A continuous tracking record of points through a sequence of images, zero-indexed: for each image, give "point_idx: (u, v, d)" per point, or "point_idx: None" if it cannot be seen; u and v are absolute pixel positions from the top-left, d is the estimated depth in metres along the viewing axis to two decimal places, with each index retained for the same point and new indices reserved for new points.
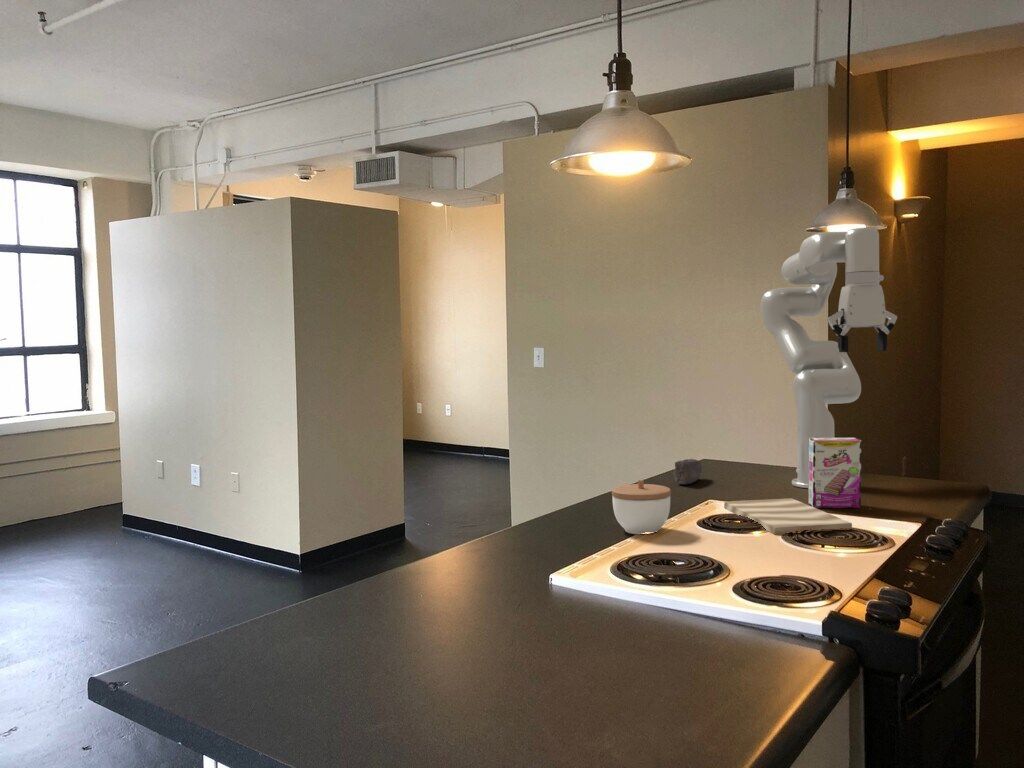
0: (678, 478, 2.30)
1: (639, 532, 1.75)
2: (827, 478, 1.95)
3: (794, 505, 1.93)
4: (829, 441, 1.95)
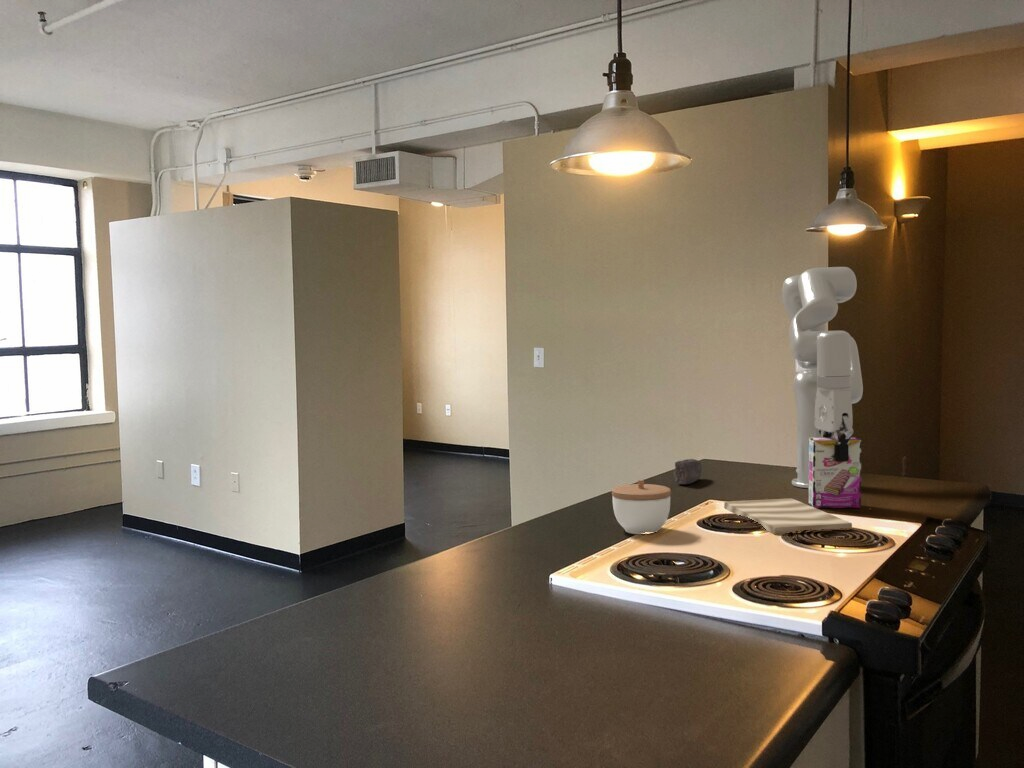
0: (678, 478, 2.30)
1: (639, 532, 1.75)
2: (827, 477, 1.95)
3: (794, 505, 1.93)
4: (829, 441, 1.95)
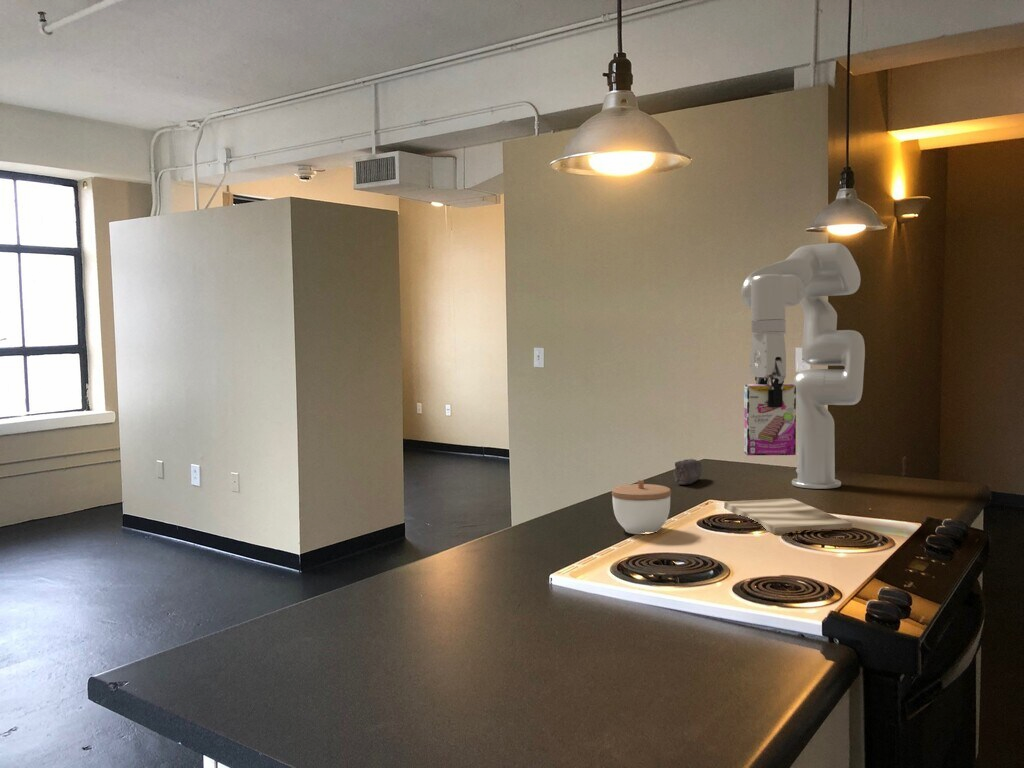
0: (678, 478, 2.30)
1: (639, 532, 1.75)
2: (761, 424, 1.90)
3: (794, 505, 1.93)
4: (763, 386, 1.90)
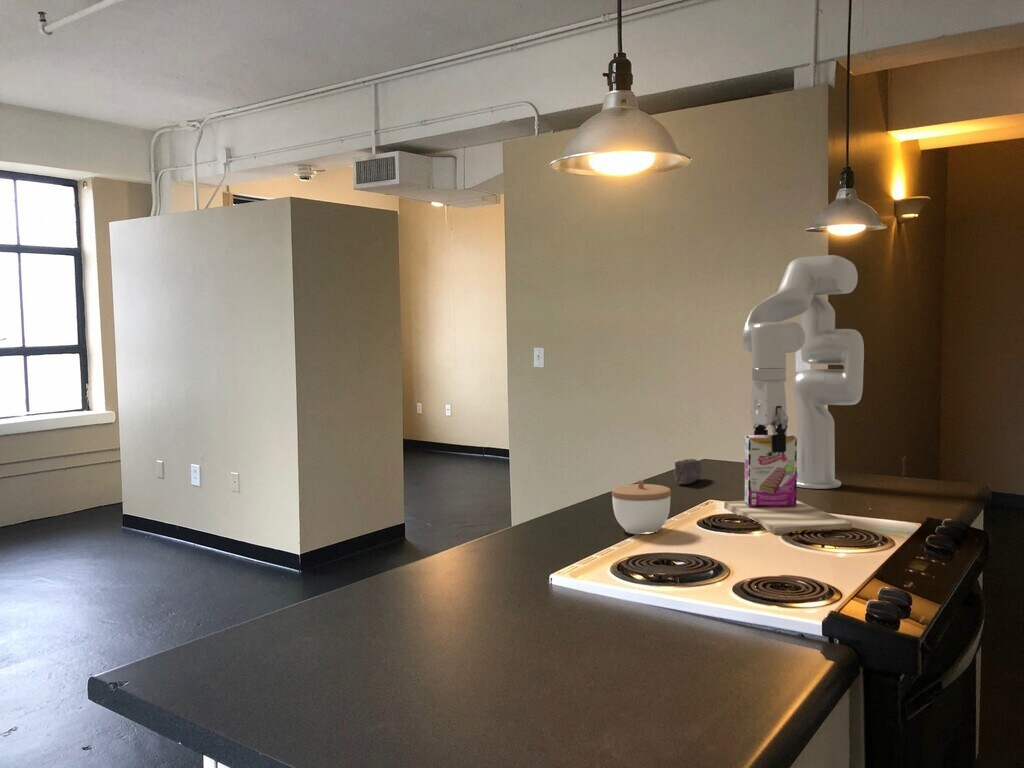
0: (678, 478, 2.30)
1: (639, 532, 1.75)
2: (762, 476, 1.91)
3: None
4: (764, 438, 1.91)
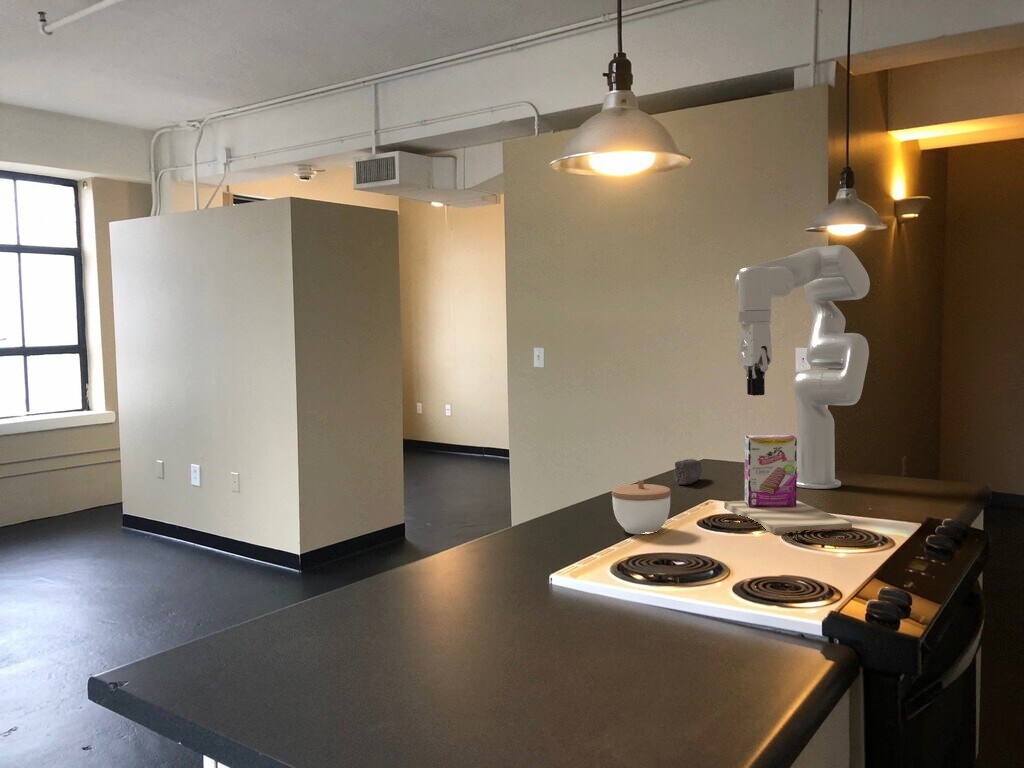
0: (678, 478, 2.30)
1: (639, 532, 1.75)
2: (762, 476, 1.91)
3: None
4: (764, 438, 1.91)
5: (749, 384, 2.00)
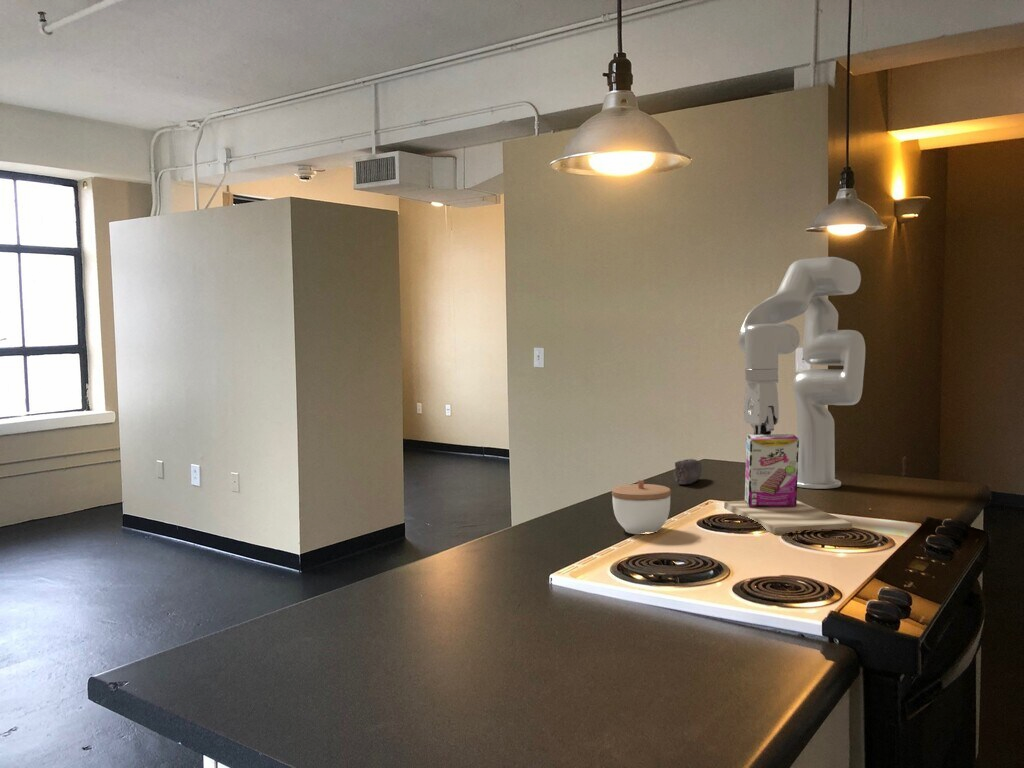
0: (678, 478, 2.30)
1: (639, 532, 1.75)
2: (763, 477, 1.90)
3: None
4: (766, 440, 1.89)
5: None
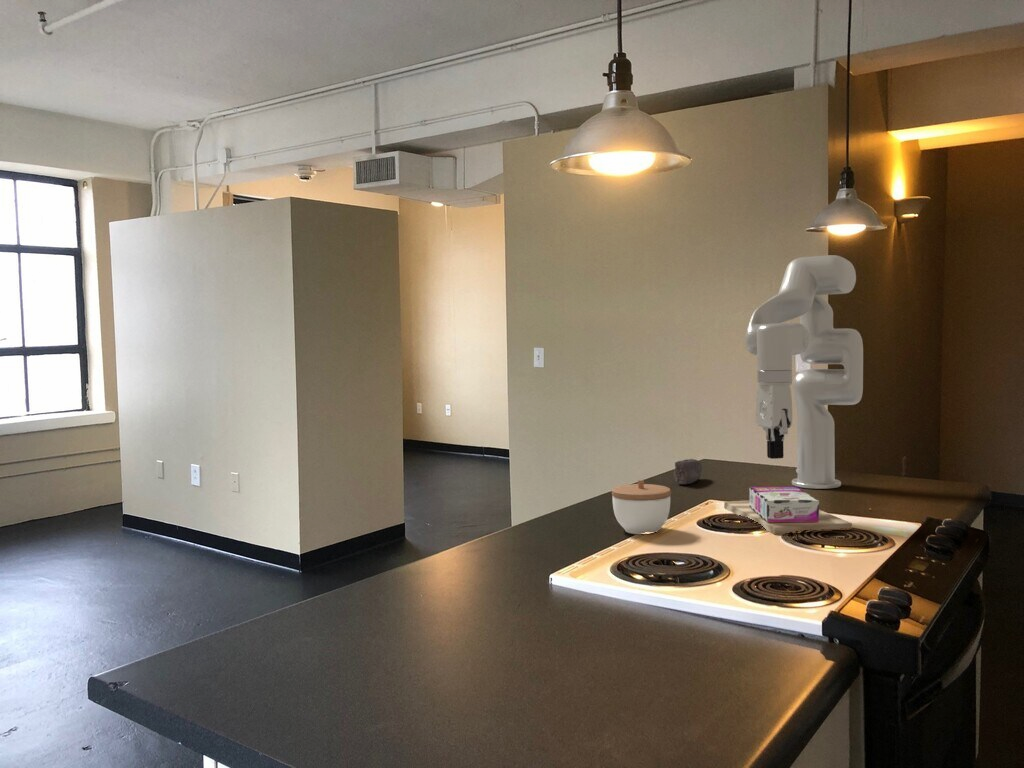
0: (678, 478, 2.30)
1: (639, 532, 1.75)
2: None
3: None
4: (783, 521, 1.76)
5: None
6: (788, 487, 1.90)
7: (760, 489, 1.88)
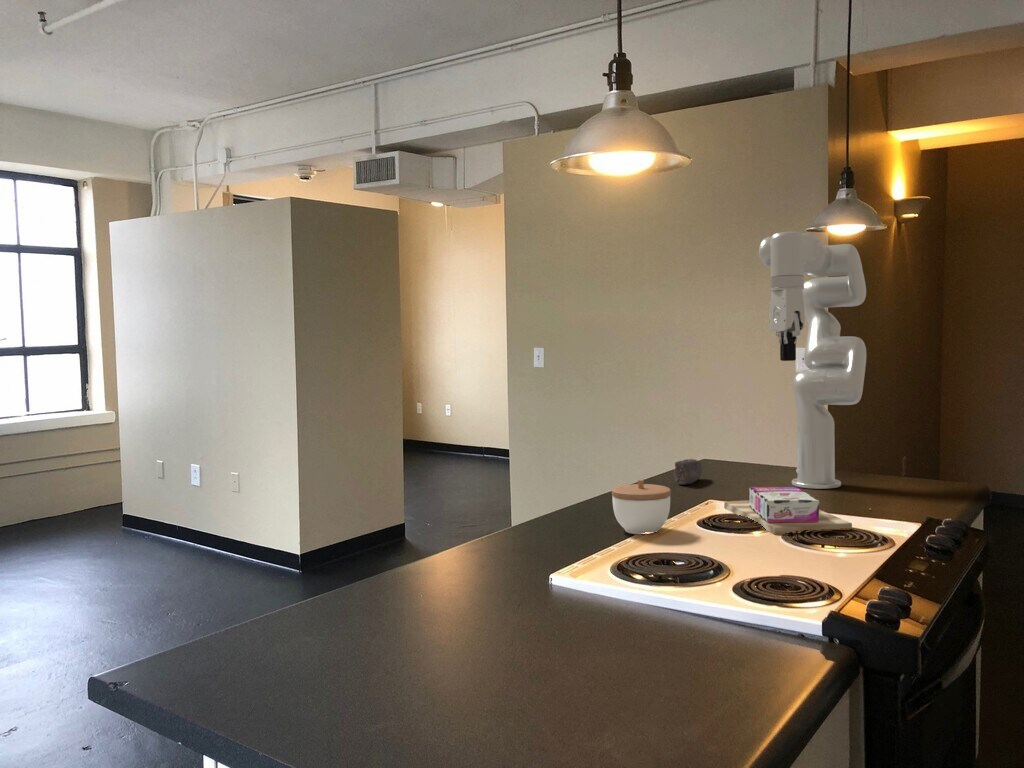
0: (678, 478, 2.30)
1: (639, 532, 1.75)
2: None
3: None
4: (783, 521, 1.76)
5: None
6: (788, 487, 1.90)
7: (760, 489, 1.88)
